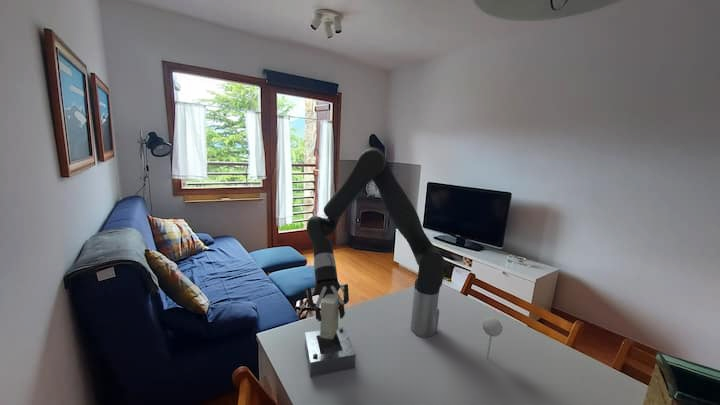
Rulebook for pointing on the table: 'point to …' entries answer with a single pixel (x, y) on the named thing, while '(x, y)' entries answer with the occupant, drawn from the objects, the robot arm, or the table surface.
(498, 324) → the lollipop
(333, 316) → the skincare box
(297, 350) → the table surface
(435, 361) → the table surface
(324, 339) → the housing
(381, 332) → the table surface
